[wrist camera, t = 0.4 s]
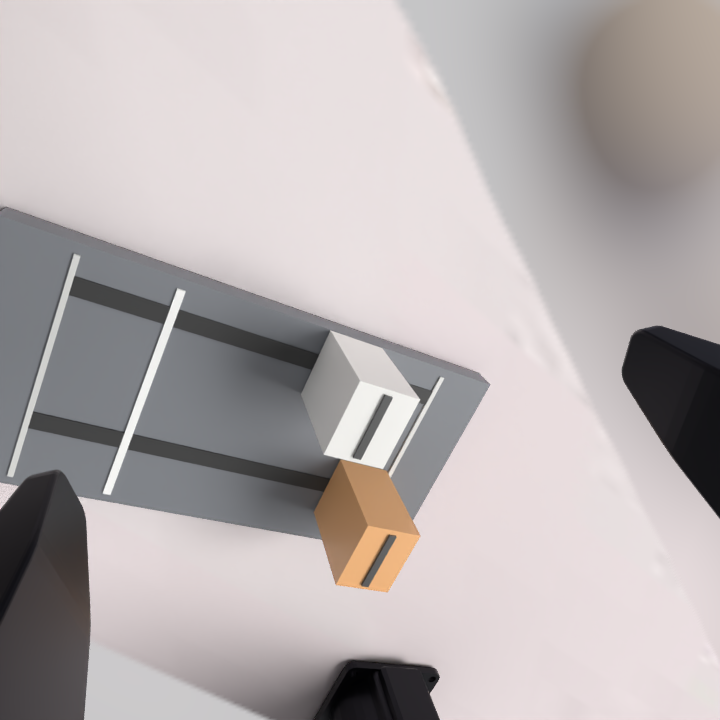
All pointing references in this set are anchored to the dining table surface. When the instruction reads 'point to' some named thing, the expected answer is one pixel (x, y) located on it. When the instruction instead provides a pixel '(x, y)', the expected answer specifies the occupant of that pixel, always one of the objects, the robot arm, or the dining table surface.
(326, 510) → the block
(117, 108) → the dining table surface
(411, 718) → the robot arm
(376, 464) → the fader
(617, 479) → the dining table surface
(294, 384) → the console
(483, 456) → the dining table surface
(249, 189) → the dining table surface
